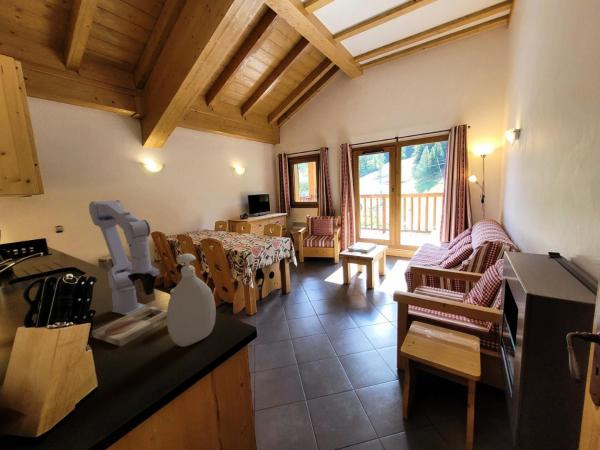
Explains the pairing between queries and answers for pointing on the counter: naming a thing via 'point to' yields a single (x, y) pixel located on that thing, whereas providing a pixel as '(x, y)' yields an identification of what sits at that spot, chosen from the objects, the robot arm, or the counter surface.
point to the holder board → (131, 326)
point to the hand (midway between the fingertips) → (145, 293)
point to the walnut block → (143, 293)
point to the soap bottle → (190, 307)
